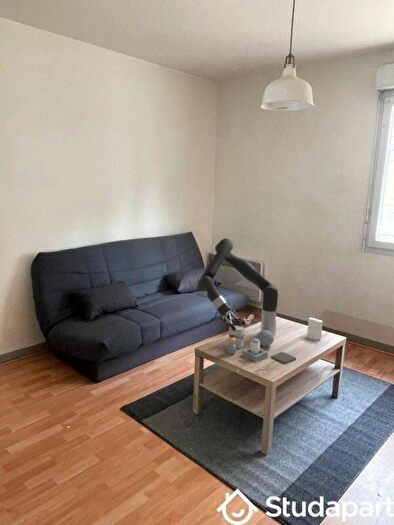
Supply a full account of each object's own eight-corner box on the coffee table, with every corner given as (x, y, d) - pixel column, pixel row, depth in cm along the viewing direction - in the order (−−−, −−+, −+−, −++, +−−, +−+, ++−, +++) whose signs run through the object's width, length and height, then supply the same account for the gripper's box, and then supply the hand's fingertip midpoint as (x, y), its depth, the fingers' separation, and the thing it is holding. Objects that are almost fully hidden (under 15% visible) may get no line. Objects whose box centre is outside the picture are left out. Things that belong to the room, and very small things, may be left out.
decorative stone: (272, 350, 233) (273, 334, 231) (255, 348, 235) (256, 332, 233) (273, 343, 243) (274, 328, 241) (257, 341, 245) (258, 326, 243)
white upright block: (304, 336, 256) (305, 319, 254) (311, 333, 262) (313, 316, 260) (316, 340, 250) (318, 323, 247) (323, 337, 256) (325, 320, 253)
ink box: (227, 345, 238) (228, 327, 236) (231, 342, 242) (232, 324, 240) (240, 348, 234) (242, 330, 232) (243, 345, 238) (245, 327, 236)
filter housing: (243, 346, 238) (244, 338, 237) (267, 356, 224) (268, 348, 223) (225, 352, 228) (225, 344, 227) (249, 364, 214) (249, 355, 213)
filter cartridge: (254, 353, 228) (255, 337, 226) (260, 356, 224) (262, 340, 222) (248, 355, 224) (249, 339, 223) (255, 358, 221) (256, 342, 219)
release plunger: (231, 340, 229) (232, 336, 228) (236, 343, 226) (237, 339, 225) (227, 342, 226) (227, 338, 226) (232, 344, 223) (232, 340, 223)
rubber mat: (281, 353, 229) (281, 351, 229) (295, 359, 222) (296, 357, 222) (270, 357, 223) (271, 356, 223) (285, 364, 216) (285, 362, 215)
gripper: (222, 305, 238) (238, 327, 235) (211, 311, 226) (228, 334, 223) (230, 298, 234) (247, 320, 231) (220, 304, 222) (237, 328, 219)
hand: (237, 327), depth 227 cm, fingers open, 8 cm apart
